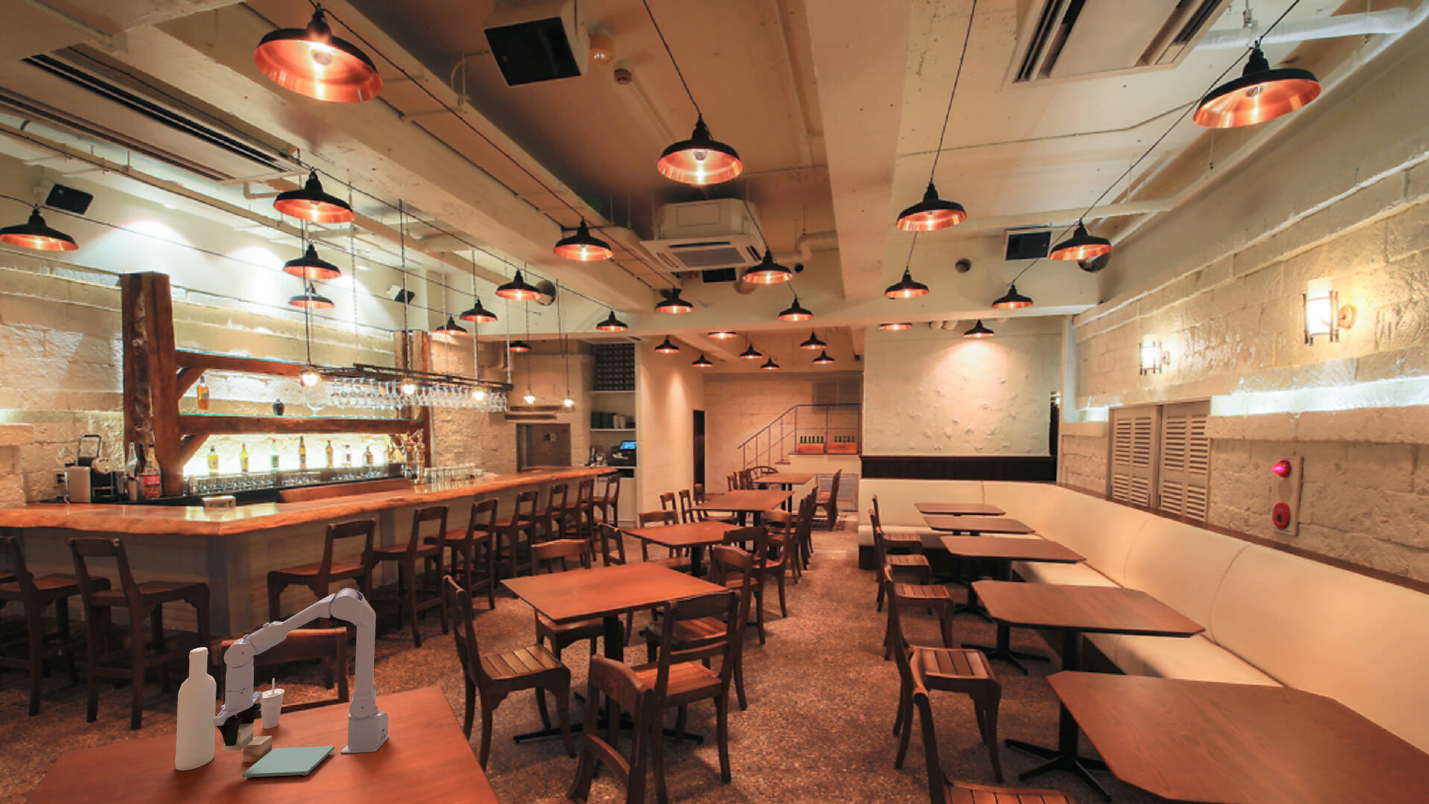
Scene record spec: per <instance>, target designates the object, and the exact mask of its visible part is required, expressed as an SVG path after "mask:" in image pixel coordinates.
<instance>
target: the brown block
mask: <svg viewBox="0 0 1429 804" xmlns="http://www.w3.org/2000/svg"><path fill="white" fill-rule="evenodd" d="M272 747H273V736H272V735H260V736H259V735H258V736H253V741H252V742H251V743H249V744H248V745H247V746H245V747H244V748H243V749H242V762H243V763H248V762H249V763H252V762H256V763H257V762H258V761H259V760H260V759H262V758H263V757H264V756H265V755H267V754H268V753H269V752H270V751H272V750H273V748H272Z"/></svg>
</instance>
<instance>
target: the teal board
mask: <svg viewBox="0 0 1429 804" xmlns="http://www.w3.org/2000/svg"><path fill="white" fill-rule="evenodd" d="M335 747H336V746H335V745H328V746H327V745H325V746H323V745H322V746H304V747H303V746H302V747H277V748H276V747H275V748H272V751H270V752H269V753H268V754H267V755H265V756H264V757H263V758H262V759H260V760H259V761H256V763H254V764H253V765H252V766H251V767H249V768H248V769H247V770H245V771H244V772H243V773H242V774H241V778H246V779H247V780H251V779H252V778H257V777H277V776H278V777H280V776H299V775H302V778H303V777H304V778H305V777H307V776H308V775H309V774H310V773H311V772H312V771H313V770H314V769H315V768H316V767H317V766H318V765H319V764H320V763H322V761H323V760H324V759H326V758H327V757H328V756H329V755H330V754H331V753H332V752H333V751H334V750H335Z"/></svg>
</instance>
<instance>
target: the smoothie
mask: <svg viewBox="0 0 1429 804" xmlns="http://www.w3.org/2000/svg"><path fill="white" fill-rule="evenodd" d="M275 680H276V679H275V678H274V677H273V678H272V681H271V683H272V684H271V685H272V686H271V688H272V689H269V690H266V691H262V699H261V700H259V701H258V702H259V703H260V704H261V708H260V715H261V722H262V728H263V729H264V730H268V729H272V728H275V727H277V726H278V725H279V722H280V716H281V710H282V703H283V699H284V696H285V689H283V688H275Z"/></svg>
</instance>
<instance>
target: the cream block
mask: <svg viewBox="0 0 1429 804" xmlns="http://www.w3.org/2000/svg"><path fill="white" fill-rule="evenodd" d="M253 738H254V723H253V724H240V726H239V730H238V737H237V742H236V745H234V746H226V745H225V742H224V739H223V736H222V739H221V742H222V743H221V744H222V745H221V752H231V751H242V750H243V748H244V747H245V746H247V745H248V744H249V743H251V742H252V741H253Z"/></svg>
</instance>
